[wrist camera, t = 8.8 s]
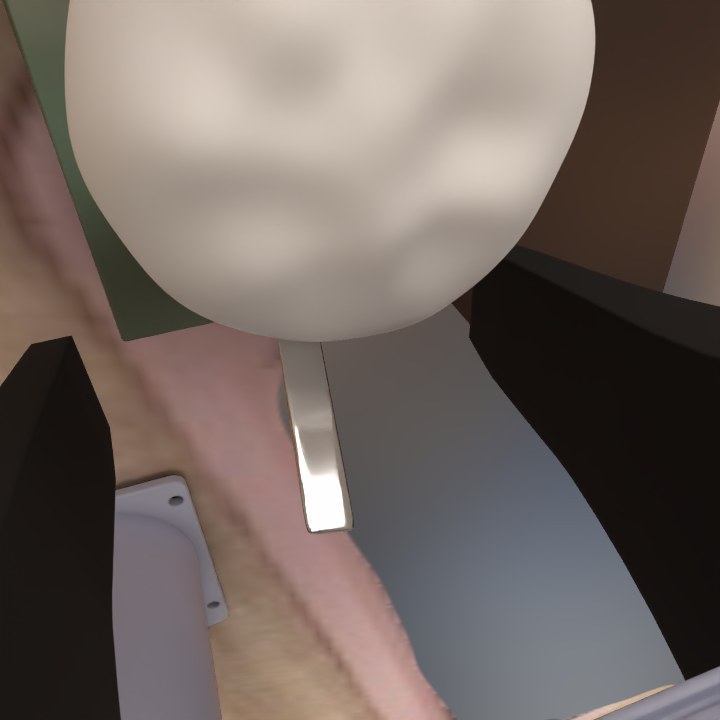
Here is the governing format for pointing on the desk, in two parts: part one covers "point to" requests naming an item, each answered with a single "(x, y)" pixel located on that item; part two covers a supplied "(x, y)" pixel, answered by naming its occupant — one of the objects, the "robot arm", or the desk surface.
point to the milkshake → (322, 164)
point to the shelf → (568, 191)
